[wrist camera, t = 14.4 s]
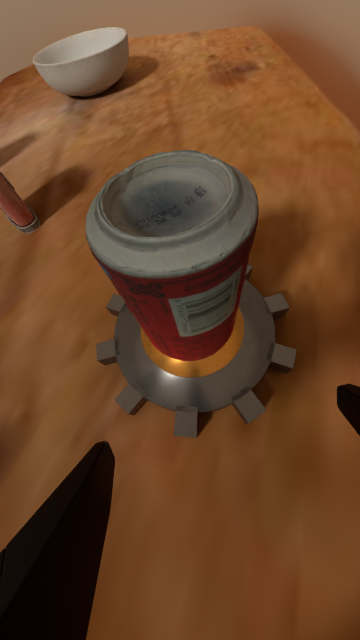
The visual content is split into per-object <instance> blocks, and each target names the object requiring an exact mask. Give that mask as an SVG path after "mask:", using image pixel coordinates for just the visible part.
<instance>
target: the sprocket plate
mask: <svg viewBox="0 0 360 640" xmlns="http://www.w3.org/2000/svg"><path fill="white" fill-rule="evenodd" d="M252 268H253V266H251V265H249V264H248V266H247V271H246V275H245V281H244V285H243V289H242V293H241V298H240V302H239V307H238V311H237V316H236V320H235V324H234V328H233V332H232V334H231V336H230V338H229V339H228V341H227V342H226V343H225V345H224V346H223V348H221V349H220V350H219V351H217V352H216V353H215V354H213V355H211V356H209V357H207V358H204V359H202V360H197V361H181V360H177V359H173V358H170V357H168V356H166V355H164V354H163V353H161V352H160V351H159V350H158V349H157V348H155V347H154V345H153V344H152V343H151V341H150V340H149V338H148V336H147V335H146V334H145V332H144V330H143V329H142V327H141V326H140V324H139V323H138V321H137V320H136V319H135V317H134V315H133V314H132V313H131V311H130V310H129V308H128V306H127V304H126V303H125V301H124V300H123V299H122V297H121V296H119V295H116V294H114V295H113V296H112V298H111V299H110V301H109V303H108V304H107V306H106V308H107V309H108V310H109V312H110V313H111V314H112V315H115V316H118V319H117V322H116V327H115V334H114V339H112V340H109V341H105V342H101V343H98V344H96V347H97V361H99V362H100V363H102V364H104V365H108V364H111V363H115V362H118V364H119V366H120V369H121V371H122V373H123V374H124V376H125V378H126V379H127V380H128V382H129V384H128V385H127V386H126V388H125V389H124V390H123V391H122V392H121V393H120V394H119V396H118V397H117V398H116V399H115V401H116V402H117V403H118V404H119V405H120V406H121V407H122V408H123V409H124V410H125V411H126V412H127V413H128V414H130V415H135V414H136V413H137V411H138V410H139V409H140V408H141V407H142V406H143V404H144V403H145V402H146V401H147V400H149V401H151V402H153V403H155V404H157V405H159V406H161V407H163V408H166V409H169V410H172V411H176V415H175V428H174V436H183V437H195V438H197V437H198V413H208V412H212V411H216V410H219V409H222V408H225V407H227V406H229V405H231V404H232V405H233V406H234V408H235V409H236V411H237V412H238V414H239V415H240V417H241V418H242V419H243V421H244V422H245V424H247V423H250V422H251V421H252V420H254V419H255V418H256V417H258V416H259V415H260V414H262V413H263V412H265V411H266V409H265V407H264V406H263V405H262V403H261V402H260V401H259V399H258V398H257V397H256V396H255V394H254V393H253V392H252V390H251V389H252V388H253V387H254V386H255V385H256V384H257V383H258V382H259V381H260V379H261V378H262V376H263V375H264V374H265V372H266V370H267V368H268V367H270V368H273V369H276V370H279V371H282V372H285V373H288V372H289V371H290V370H292V369H293V367H294V361H295V356H296V351H297V349H293V348H290V347H287V346H284V345H280V344H277V343H275V326H274V320H273V319H274V318H278V317H281V316H284V315H285V314H286V312H287V311H288V309H289V308H290V307H289V306H288V304H287V302H286V300H285V299H284V297H283V295H282V293H279V294H275V295H272V296H268V297H264V298H263V296H262V295H261V294H260V293H259V291H258V290H257V289H256V288H255V287H254V286H253V285H252V284H251V283H250V282H248V281H247V280H248V279H249V277H250V276H251V272H252Z"/></svg>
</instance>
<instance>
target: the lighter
mask: <svg viewBox="0 0 360 640" xmlns="http://www.w3.org/2000/svg"><path fill="white" fill-rule="evenodd" d="M14 190H15V189H14V187H13V186H12V185H11V183H10V182H9V181H8V180H7V178H6V177H5V176H4V175H3V173H1V172H0V209H1V210H2V211H3V212H4V213H5V215H6V216H7V218H8V220H9V221H10V222H11V223H12V224H13V225H14V226H15V227H17V228H18V229H19V230H21V231H22V232H24V233H30V232H33V231H35V230H36V229H37V228H38V227H39V226H40V221H39V219H38V217H37V216H36V214H35V213H34V212H33V210H32V209H31V208H30V207H29V206H28V205H27V204H25V203H24V202H23V200H22V199H21V198H20V197H19V195H18V194H17V193H16V192H15V191H14Z"/></svg>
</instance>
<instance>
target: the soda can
mask: <svg viewBox="0 0 360 640" xmlns="http://www.w3.org/2000/svg"><path fill="white" fill-rule="evenodd" d="M258 214H259V208H258V198H257V194H256V191H255V189H254V186H253V185H252V184H251V182H250V181H249V179H248V178H247V177H246V176H245V175H244V174H243V173H242V172H241V171H239V170H238V169H237V168H235V167H233V166H231V165H229V164H227V163H225V162H223V161H222V160H220V159H218V158H215V157H213V156H211V155H208V154H203V153H200V152H198V151H192V150H180V151H172V152H165V153H157V154H154V155H151V156H149V157H146V158H143V159H141V160H138V161H136V162H135V163H134V164H132V165H130V166H129V167H128V168H126V169H125V170H123V171H122V172H120V173H118V174H116V175H115V176H114V177H112V178H110V179H109V180H108V181H107V182H106V183H105V185H104V186H103V188H102V189H101V190H100V192H99V193H98V194H97V196H96V197H95V198H94V200H93V201H92V203H91V206H90V208H89V211H88V213H87V216H86V239H87V241H88V244H89V246H90V249H91V252H92V254H93V256H94V257H95V259H96V260H97V261H98V263H99V264H100V266H101V267H102V268H103V270H104V271H105V273H106V274H107V276H108V277H109V279H110V280H111V282H112V283H113V285H114V287H115V288H116V290H117V291H118V293H119V294H120V296H121V297H122V299H123V300H124V301H125V303H126V304H127V306H128V308H129V310H130V311H131V313H132V314H133V315H134V317H135V319H136V320H137V321H138V323H139V324H140V326H141V327H142V329H143V330H144V332H145V334H146V335H147V336H148V338H149V340H150V341H151V343H152V344H153V345H154V347H155V348H157V349H158V350H159V351H160V352H161V353H163V354H164V355H166V356H168V357H170V358H173V359H177V360H181V361H197V360H202V359H204V358H207V357H209V356H211V355H213V354H215V353H216V352H217V351H219V350H220V349H221V348H223V346H224V345H225V343H226V342H227V341H228V339H229V338H230V336H231V334H232V332H233V328H234V324H235V320H236V316H237V311H238V307H239V302H240V298H241V293H242V289H243V285H244V281H245V275H246V271H247V266H248V259H249V252H250V250H251V247H252V244H253V241H254V236H255V232H256V227H257V222H258Z"/></svg>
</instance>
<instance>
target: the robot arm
mask: <svg viewBox="0 0 360 640" xmlns="http://www.w3.org/2000/svg"><path fill="white" fill-rule="evenodd" d="M337 405H338V408H339V410H340V411H341V412H342V414H343V415H344V416H345V418H346V419H347V420H348V421H349V423H350V424H351V425H352V427H353V428H354V429H355V430H356V432H357V433H358V434H359V436H360V387H358V386H355V385H352V384H345V385H340V386H338V387H337ZM114 467H115V458H114V454H113V452H112V450H111V448H110V445H109V443H108V442H107V441H102V442H98V443H96V444H95V445H94V446H93V447H92V448H91V449H90V450H89V452H88V453H87V454H86V455H85V456H84V457H83V459H82V460H81V461H80V462H79V463H78V464H77V465H76V467H75V468H74V469H73V470H72V471H71V472H70V473H69V475H68V476H67V477H66V478H65V479H64V480H63V481H62V483H61V484H60V485H59V486H58V487H57V488H56V489H55V491H54V492H53V493H52V494H51V495H50V496H49V498H48V499H47V500H46V501H45V502H44V503H43V504H42V506H41V507H40V508H39V509H38V510H37V511H36V512H35V514H34V515H33V516H32V517H31V518H30V519H29V520H28V522H27V523H26V524H25V525H24V526H23V527H22V528H21V530H20V531H19V532H18V533H17V534H16V535H15V537H14V538H13V539H12V540H11V541H10V542H9V543H8V545H7V546H6V549H3V550H2V551H1V552H0V640H86V636H87V631H88V626H89V620H90V615H91V610H92V605H93V599H94V594H95V589H96V583H97V578H98V573H99V567H100V562H101V557H102V552H103V546H104V541H105V536H106V530H107V525H108V520H109V514H110V507H111V498H112V488H113V478H114Z"/></svg>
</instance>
